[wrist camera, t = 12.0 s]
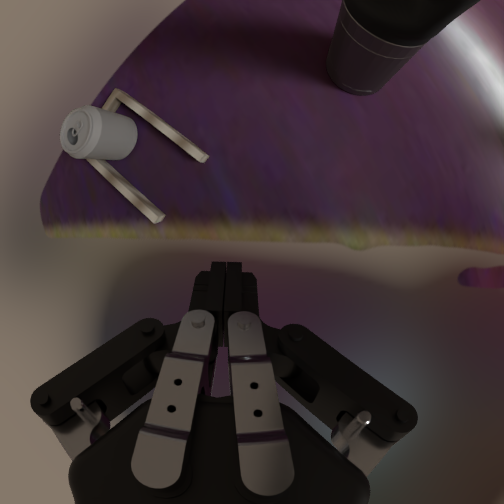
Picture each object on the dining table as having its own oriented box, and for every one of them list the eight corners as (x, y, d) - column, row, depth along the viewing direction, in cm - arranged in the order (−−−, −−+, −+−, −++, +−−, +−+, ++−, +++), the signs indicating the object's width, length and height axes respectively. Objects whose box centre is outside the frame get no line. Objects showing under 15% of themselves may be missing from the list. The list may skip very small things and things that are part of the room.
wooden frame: (209, 156, 39) (204, 154, 36) (161, 221, 42) (154, 223, 40) (123, 91, 37) (115, 87, 35) (85, 151, 41) (77, 150, 38)
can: (97, 138, 40) (49, 132, 28) (126, 107, 38) (81, 92, 27) (117, 169, 41) (68, 170, 29) (148, 138, 39) (102, 128, 27)
